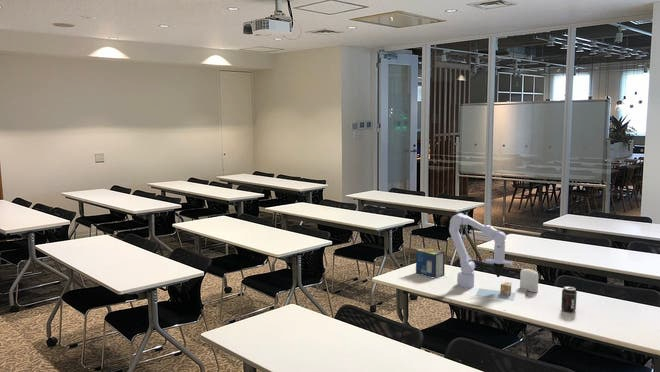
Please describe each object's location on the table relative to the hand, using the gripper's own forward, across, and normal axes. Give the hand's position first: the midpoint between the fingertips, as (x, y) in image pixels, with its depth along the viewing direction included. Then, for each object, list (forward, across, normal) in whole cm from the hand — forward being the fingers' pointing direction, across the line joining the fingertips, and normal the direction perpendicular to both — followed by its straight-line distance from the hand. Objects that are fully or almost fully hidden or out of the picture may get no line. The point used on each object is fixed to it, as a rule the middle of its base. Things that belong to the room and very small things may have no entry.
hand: (498, 276), depth 297 cm
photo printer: (+9, +16, +12) cm, 22 cm away
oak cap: (+8, +5, -5) cm, 10 cm away
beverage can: (+9, +37, -15) cm, 41 cm away
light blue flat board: (+9, 0, -8) cm, 12 cm away
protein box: (+10, -44, +20) cm, 50 cm away
